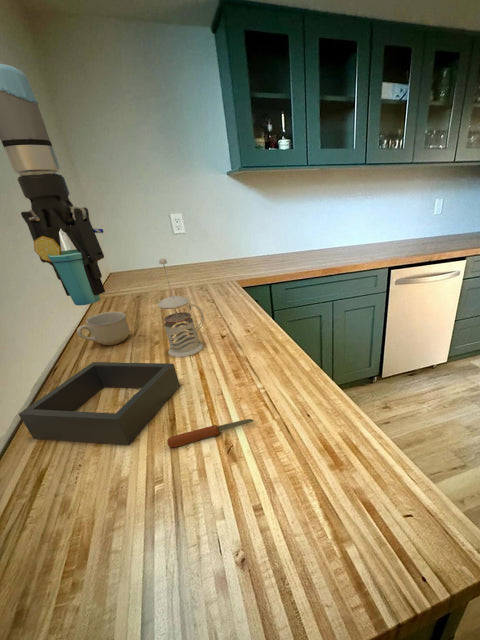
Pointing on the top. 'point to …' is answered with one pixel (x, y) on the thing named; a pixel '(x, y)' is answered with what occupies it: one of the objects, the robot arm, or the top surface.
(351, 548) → the top surface
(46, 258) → the cup
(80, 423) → the frame
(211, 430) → the kitchen knife
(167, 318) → the french press
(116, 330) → the teacup
